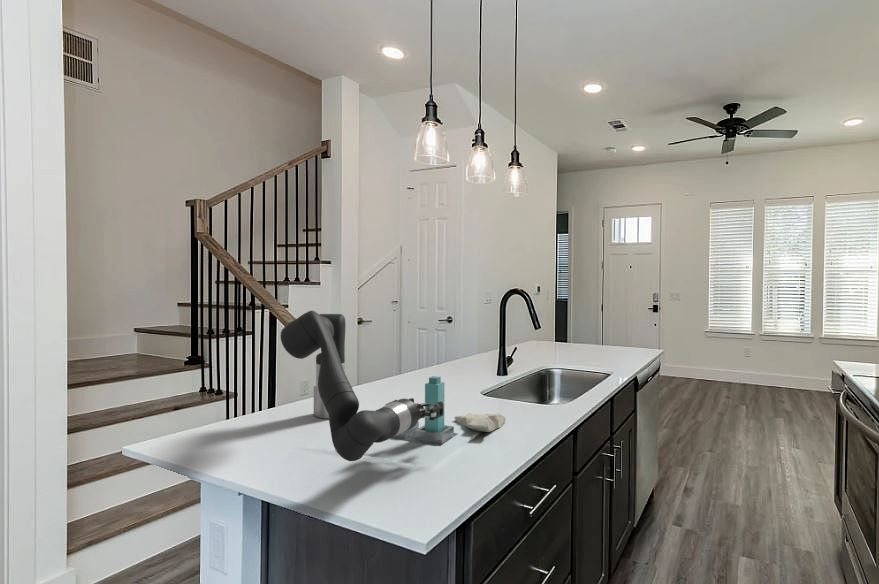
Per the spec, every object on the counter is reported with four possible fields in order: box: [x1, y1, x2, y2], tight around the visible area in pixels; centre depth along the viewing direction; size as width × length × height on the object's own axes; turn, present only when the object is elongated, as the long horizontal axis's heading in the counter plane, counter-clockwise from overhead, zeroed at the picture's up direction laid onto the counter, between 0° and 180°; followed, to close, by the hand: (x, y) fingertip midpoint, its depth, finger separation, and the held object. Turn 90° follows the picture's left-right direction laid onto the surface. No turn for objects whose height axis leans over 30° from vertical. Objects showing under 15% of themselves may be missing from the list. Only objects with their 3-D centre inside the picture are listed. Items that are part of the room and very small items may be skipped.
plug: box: [424, 375, 445, 433], centre depth 144 cm, size 4×4×17 cm
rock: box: [454, 413, 507, 433], centre depth 157 cm, size 21×5×15 cm
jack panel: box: [390, 421, 459, 447], centre depth 146 cm, size 20×12×4 cm, turn 65°
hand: (426, 403), depth 139 cm, fingers open, 8 cm apart
